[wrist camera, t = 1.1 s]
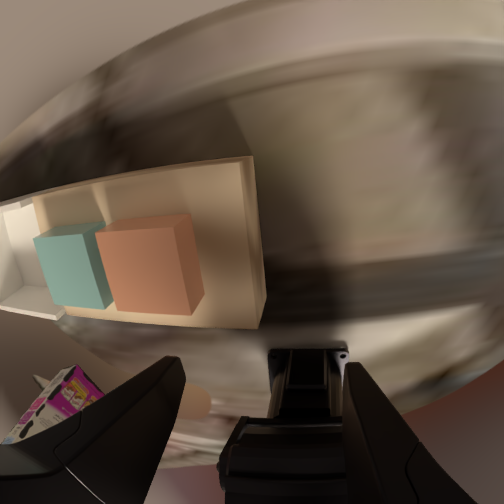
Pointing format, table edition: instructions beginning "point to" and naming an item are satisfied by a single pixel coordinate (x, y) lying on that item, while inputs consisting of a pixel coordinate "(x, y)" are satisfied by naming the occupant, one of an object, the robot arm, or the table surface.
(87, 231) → the mint green block
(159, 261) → the terracotta block
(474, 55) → the table surface
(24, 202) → the box
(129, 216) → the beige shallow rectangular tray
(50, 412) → the candy bar box
